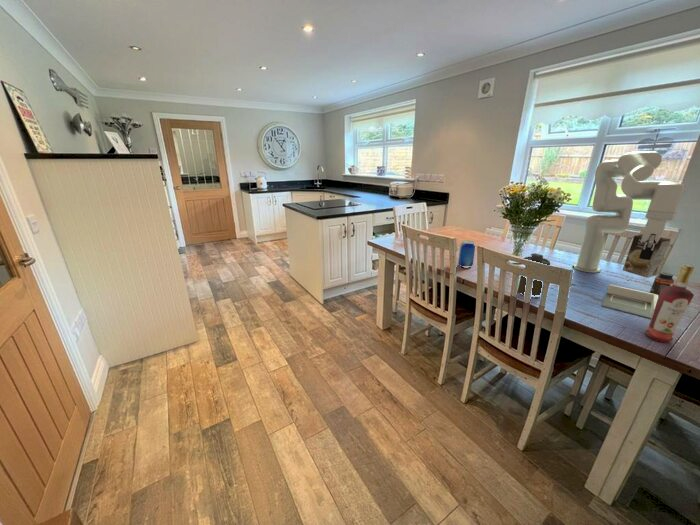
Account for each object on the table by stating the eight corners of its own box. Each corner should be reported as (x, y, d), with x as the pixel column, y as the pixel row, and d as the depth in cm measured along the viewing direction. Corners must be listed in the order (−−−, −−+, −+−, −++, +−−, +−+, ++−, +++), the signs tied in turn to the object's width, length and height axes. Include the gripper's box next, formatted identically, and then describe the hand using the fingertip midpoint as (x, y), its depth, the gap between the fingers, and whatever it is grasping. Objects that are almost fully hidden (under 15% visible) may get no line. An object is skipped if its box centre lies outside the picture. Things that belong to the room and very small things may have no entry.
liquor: (650, 342, 97) (680, 269, 88) (638, 330, 104) (665, 261, 94) (677, 346, 95) (712, 271, 85) (664, 334, 101) (694, 263, 91)
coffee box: (621, 270, 121) (632, 235, 115) (630, 268, 123) (642, 233, 117) (647, 278, 113) (661, 240, 107) (657, 275, 115) (671, 238, 109)
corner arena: (606, 292, 133) (609, 284, 131) (654, 303, 122) (658, 294, 120) (601, 306, 121) (604, 297, 120) (653, 319, 110) (658, 310, 109)
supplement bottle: (671, 299, 125) (681, 276, 121) (655, 298, 126) (664, 276, 122) (660, 293, 130) (669, 271, 126) (645, 292, 131) (653, 271, 127)
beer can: (459, 268, 167) (462, 243, 162) (456, 264, 175) (459, 239, 169) (474, 269, 166) (477, 244, 160) (470, 264, 173) (473, 240, 168)
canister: (512, 291, 137) (519, 253, 130) (526, 287, 141) (534, 250, 134) (533, 300, 128) (542, 260, 121) (548, 295, 132) (557, 256, 125)
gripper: (646, 211, 117) (633, 249, 123) (645, 217, 106) (630, 259, 112) (673, 213, 112) (657, 253, 118) (674, 219, 101) (657, 263, 107)
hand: (644, 256), depth 115 cm, fingers closed on coffee box, 8 cm apart
